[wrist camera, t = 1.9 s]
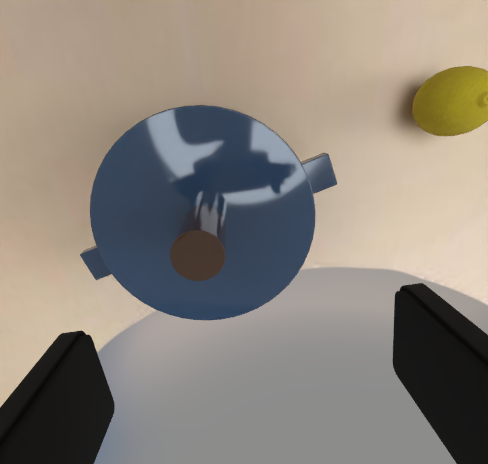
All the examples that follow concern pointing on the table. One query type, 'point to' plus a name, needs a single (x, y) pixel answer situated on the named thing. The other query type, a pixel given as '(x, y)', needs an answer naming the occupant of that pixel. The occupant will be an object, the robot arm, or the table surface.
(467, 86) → the lemon
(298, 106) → the table surface
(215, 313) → the pot lid
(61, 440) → the robot arm
